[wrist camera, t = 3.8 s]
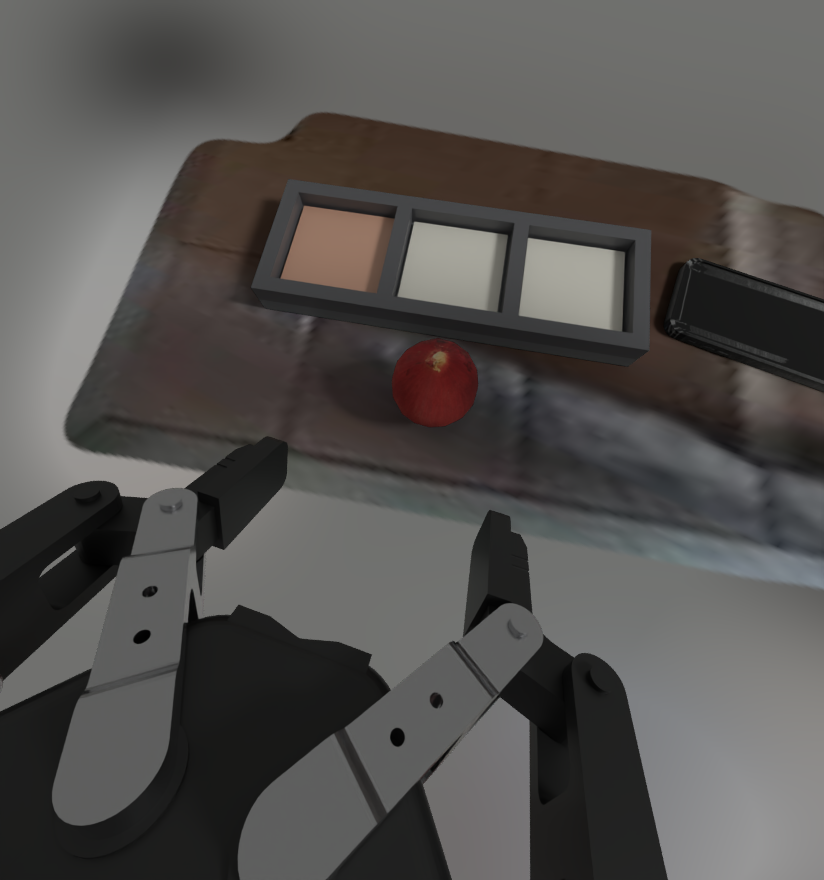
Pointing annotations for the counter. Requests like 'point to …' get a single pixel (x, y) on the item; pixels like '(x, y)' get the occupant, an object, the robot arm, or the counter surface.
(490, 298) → the keypad
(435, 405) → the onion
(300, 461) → the counter surface
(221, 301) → the counter surface
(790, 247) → the counter surface
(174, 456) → the counter surface
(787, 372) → the phone
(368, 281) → the terracotta key
